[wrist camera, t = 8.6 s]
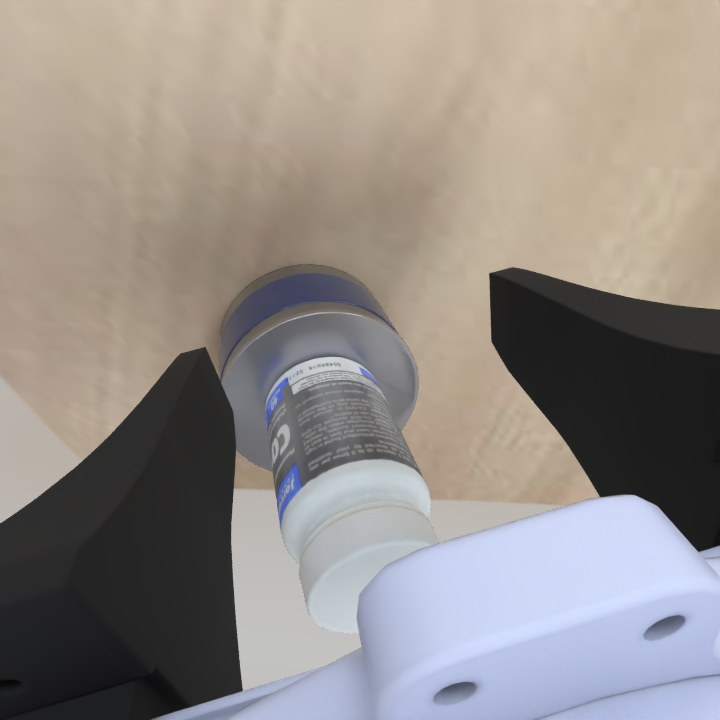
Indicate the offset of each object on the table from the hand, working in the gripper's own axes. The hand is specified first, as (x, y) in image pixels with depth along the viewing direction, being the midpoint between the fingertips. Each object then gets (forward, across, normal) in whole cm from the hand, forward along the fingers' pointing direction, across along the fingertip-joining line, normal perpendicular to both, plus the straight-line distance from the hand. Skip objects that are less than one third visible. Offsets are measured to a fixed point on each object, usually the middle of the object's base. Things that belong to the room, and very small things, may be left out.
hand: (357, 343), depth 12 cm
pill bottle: (+6, +2, +6) cm, 8 cm away
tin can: (+10, +2, +6) cm, 12 cm away
